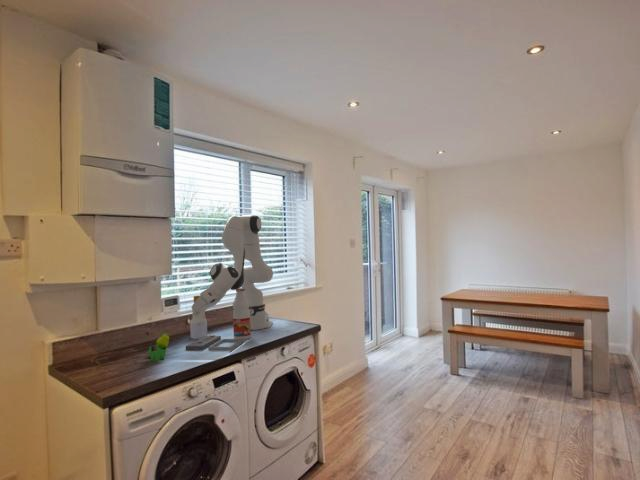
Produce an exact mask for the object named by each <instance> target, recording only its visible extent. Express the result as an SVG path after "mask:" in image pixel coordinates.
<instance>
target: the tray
mask: <svg viewBox="0 0 640 480" xmlns="http://www.w3.org/2000/svg"><path fill="white" fill-rule="evenodd" d="M223 343H233V344H231V345H230V346H220V345H221V344H223ZM243 344H244V339H234V338H221V340H219V341H218V342H216V343H214V344H212V345H211V346H209V347H207V348H208V351H229V353H232V352H233V351H234V350H237V349H238V348H239V347H240V346H242V345H243Z"/></svg>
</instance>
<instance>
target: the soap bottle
mask: <svg viewBox="0 0 640 480" xmlns="http://www.w3.org/2000/svg"><path fill="white" fill-rule="evenodd" d="M200 296H201V295H195V296H194V295H193V304H194V303H195V301H196V300H197V299H198V298H199V297H200ZM189 329H190V339H192V340H196V339H197V340H198V339H200V338H202V337H204V336H208V322H207V318H205V321H203V322H201V326H197V323H193V318H192V319H190V322H189Z"/></svg>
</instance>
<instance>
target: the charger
mask: <svg viewBox="0 0 640 480" xmlns="http://www.w3.org/2000/svg"><path fill="white" fill-rule="evenodd" d="M191 309H192V308H191ZM194 312H195V311H194V310H193V309H192V313H191V314H192V319H193V323H197V326H201V322H203V321H205V319H206V310H205V309H204V310H202V311H199V313H198V314H197V315H196V316H194V315H193V313H194Z"/></svg>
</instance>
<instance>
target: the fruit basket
mask: <svg viewBox="0 0 640 480" xmlns="http://www.w3.org/2000/svg"><path fill="white" fill-rule="evenodd" d="M169 340H170V337H169V334H168V333H163V334H162V335H161V336H160V337H158V339H157V340H156V342H155V345H150V347H149V350H148V354H149V357H150V360H151V363H154V362H159V361H160V362H161V361H164V360H165V355H166V352H167V348H168V345H169Z"/></svg>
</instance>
